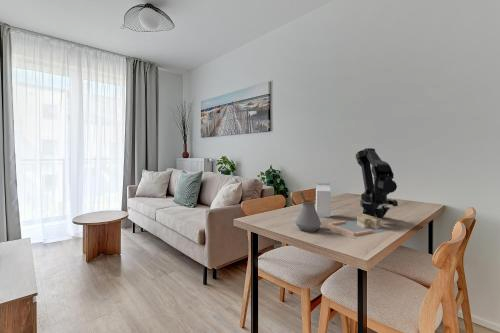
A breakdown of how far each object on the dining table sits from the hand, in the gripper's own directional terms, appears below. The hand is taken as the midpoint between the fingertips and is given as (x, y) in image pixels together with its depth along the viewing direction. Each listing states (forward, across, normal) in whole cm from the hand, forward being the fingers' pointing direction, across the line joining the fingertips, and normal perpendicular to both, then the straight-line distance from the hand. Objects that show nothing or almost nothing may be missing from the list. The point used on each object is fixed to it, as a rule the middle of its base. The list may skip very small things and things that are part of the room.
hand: (379, 221), depth 119 cm
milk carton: (+2, +14, -24) cm, 28 cm away
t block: (+1, +9, 0) cm, 9 cm away
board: (+2, +16, 0) cm, 16 cm away
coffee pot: (+2, +33, -15) cm, 36 cm away
